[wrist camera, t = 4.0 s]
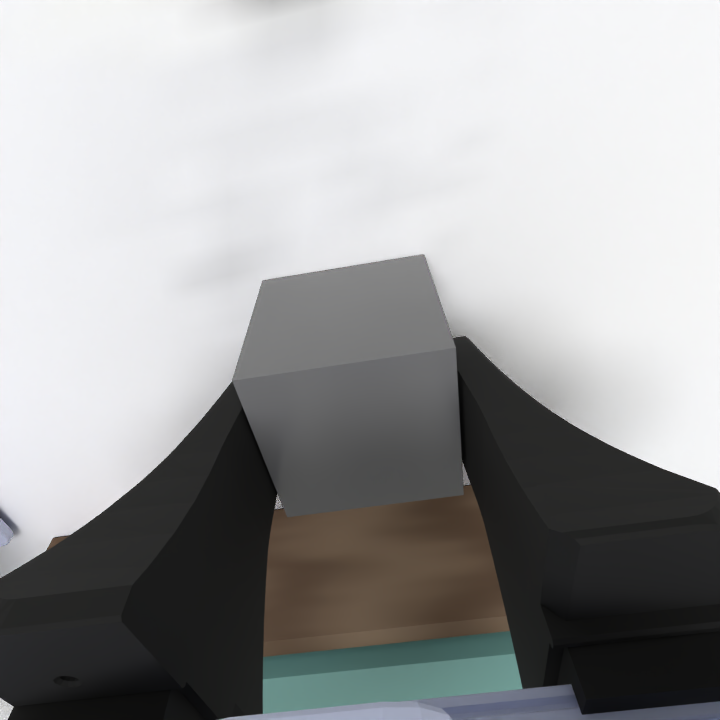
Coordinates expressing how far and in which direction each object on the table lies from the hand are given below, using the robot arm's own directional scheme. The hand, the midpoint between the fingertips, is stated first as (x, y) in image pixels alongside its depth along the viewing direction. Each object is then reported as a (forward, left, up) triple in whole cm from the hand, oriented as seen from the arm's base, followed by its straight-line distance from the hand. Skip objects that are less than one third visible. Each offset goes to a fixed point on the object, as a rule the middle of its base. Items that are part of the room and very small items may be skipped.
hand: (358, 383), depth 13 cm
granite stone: (0, 0, -2) cm, 2 cm away
